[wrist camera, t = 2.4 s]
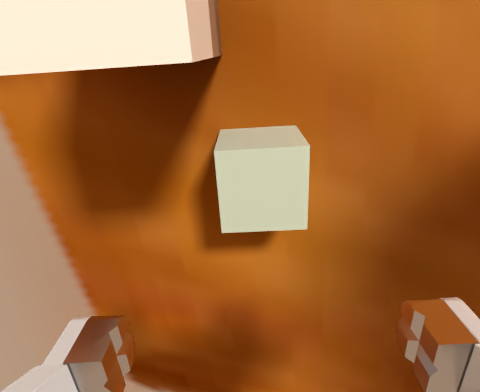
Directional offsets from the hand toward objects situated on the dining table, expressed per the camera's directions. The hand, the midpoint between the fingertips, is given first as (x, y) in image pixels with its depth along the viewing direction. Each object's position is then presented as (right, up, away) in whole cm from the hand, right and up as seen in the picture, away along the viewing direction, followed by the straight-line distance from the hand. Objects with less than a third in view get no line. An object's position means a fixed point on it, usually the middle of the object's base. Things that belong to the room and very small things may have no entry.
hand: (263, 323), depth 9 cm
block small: (+1, +6, +13) cm, 14 cm away
